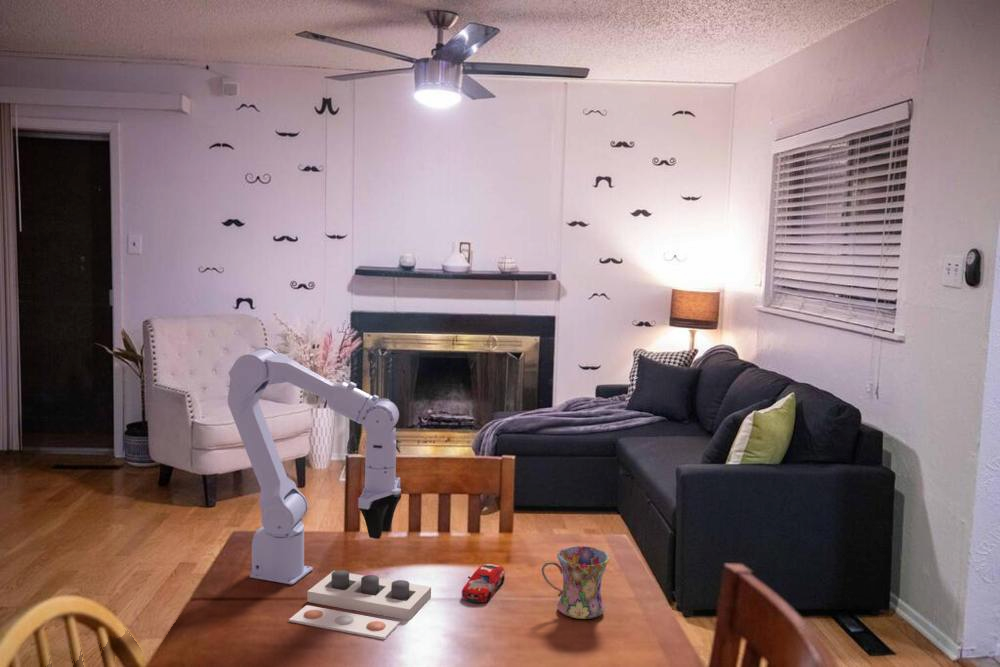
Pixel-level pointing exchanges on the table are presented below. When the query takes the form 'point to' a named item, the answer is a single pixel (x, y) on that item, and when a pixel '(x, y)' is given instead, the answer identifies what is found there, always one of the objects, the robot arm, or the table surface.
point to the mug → (580, 581)
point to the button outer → (400, 590)
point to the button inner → (340, 579)
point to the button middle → (370, 584)
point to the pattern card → (345, 622)
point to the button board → (369, 597)
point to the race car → (484, 583)
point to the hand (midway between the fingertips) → (379, 534)
